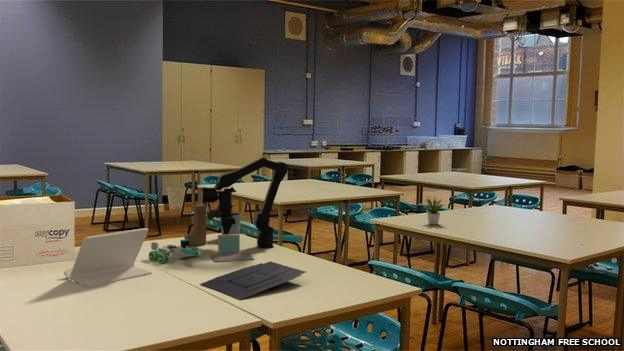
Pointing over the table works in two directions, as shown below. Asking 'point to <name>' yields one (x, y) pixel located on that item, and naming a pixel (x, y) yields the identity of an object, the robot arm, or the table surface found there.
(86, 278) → the tablet stand
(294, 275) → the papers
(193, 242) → the wooden block
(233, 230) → the drinking glass
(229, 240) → the tile
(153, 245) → the robot kit
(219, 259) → the mat
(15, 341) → the table surface
